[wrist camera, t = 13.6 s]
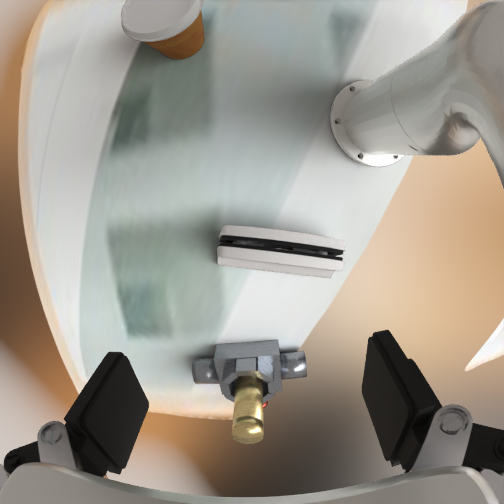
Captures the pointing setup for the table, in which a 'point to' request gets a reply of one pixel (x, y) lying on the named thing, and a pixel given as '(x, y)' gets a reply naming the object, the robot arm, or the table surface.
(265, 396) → the valve body
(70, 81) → the table surface
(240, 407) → the brass cylinder
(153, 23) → the disposable coffee cup
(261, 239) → the white slotted block
